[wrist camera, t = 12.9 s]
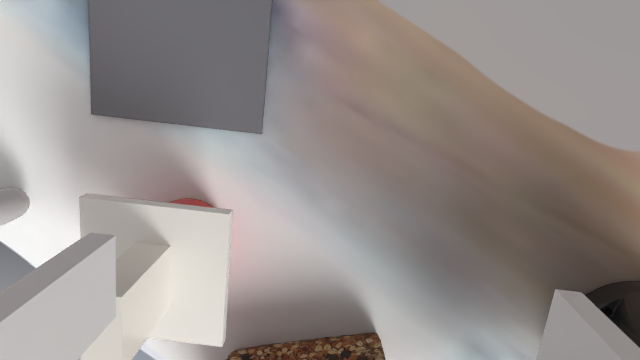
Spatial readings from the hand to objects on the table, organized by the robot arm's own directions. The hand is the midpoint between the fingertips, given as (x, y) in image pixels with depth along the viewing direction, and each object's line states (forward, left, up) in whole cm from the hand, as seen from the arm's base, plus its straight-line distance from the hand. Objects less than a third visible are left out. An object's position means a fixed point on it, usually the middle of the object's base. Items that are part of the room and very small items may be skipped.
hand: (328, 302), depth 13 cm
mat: (+17, -7, -35) cm, 39 cm away
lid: (+15, +13, -25) cm, 32 cm away
